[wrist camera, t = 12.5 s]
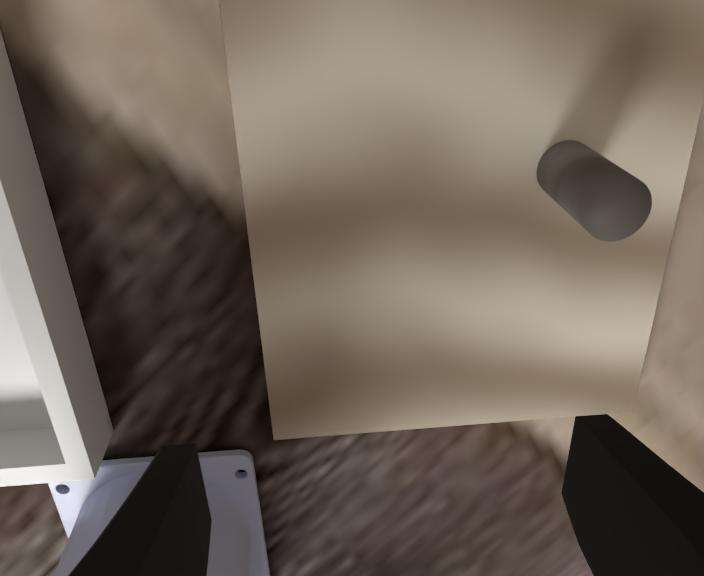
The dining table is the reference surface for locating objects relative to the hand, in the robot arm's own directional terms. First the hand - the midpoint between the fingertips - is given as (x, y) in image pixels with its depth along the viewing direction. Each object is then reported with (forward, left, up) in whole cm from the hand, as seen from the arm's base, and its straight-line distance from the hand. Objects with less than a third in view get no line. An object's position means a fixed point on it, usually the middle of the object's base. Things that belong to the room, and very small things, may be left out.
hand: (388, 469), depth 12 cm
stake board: (+1, -4, -10) cm, 11 cm away
